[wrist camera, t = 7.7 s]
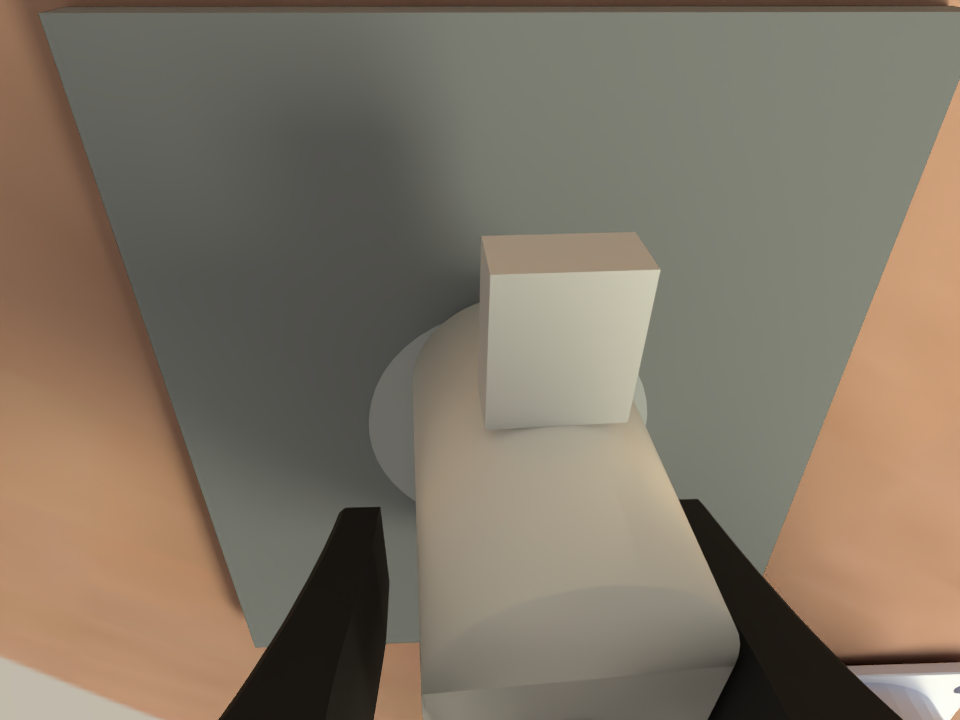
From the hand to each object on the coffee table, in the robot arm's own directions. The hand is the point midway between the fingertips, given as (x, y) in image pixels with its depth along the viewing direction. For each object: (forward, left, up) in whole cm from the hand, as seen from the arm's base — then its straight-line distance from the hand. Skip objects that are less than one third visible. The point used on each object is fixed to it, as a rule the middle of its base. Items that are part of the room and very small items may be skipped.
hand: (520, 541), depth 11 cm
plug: (+1, 0, -3) cm, 3 cm away
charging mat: (0, 0, -4) cm, 4 cm away
